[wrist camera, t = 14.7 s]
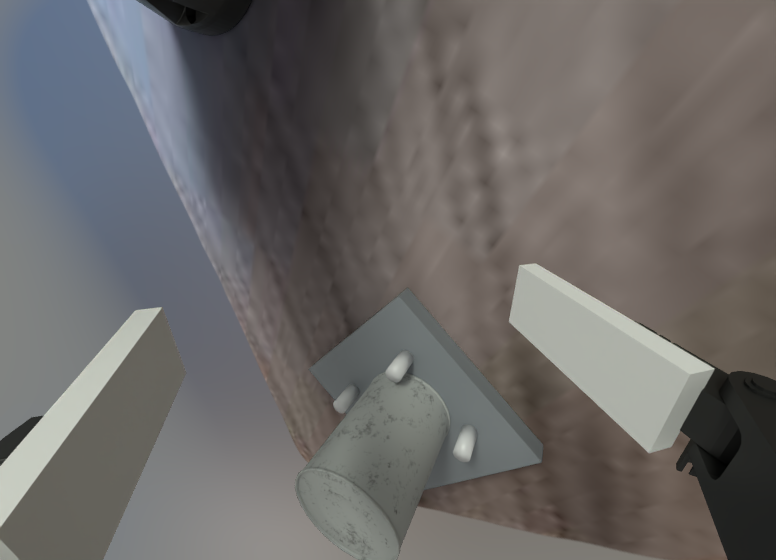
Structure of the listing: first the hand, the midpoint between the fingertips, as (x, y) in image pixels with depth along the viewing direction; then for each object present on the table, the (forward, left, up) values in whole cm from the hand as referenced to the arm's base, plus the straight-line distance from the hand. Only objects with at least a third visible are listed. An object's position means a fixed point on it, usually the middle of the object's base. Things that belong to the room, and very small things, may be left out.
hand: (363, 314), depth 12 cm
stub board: (+11, -18, -17) cm, 27 cm away
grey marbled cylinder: (+11, -18, -15) cm, 26 cm away
